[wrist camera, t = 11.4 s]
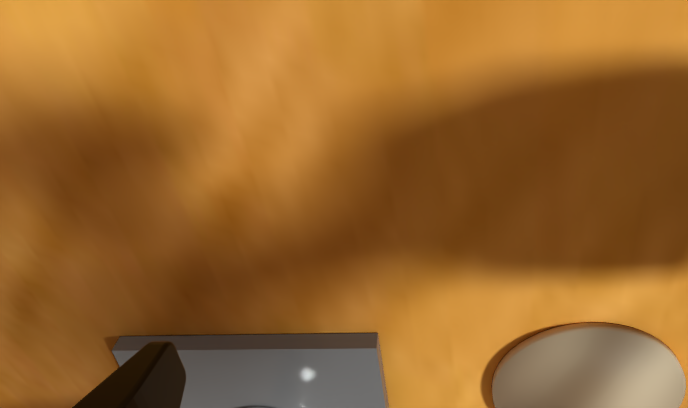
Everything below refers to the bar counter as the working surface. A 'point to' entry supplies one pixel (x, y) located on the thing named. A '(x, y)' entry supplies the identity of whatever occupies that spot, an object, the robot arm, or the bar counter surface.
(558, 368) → the metal coaster
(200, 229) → the bar counter surface
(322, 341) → the slate board
